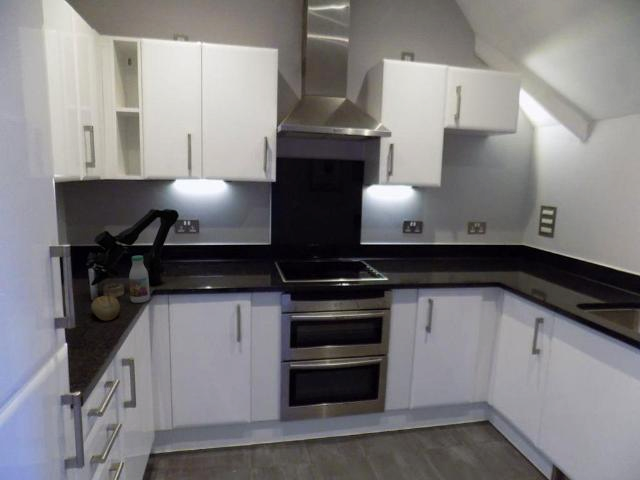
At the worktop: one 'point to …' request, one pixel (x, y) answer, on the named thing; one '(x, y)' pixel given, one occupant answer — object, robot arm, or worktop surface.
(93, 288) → the steel peg
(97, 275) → the robot arm
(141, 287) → the milk bottle
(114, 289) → the tan tape roll
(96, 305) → the bread roll
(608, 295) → the worktop surface
